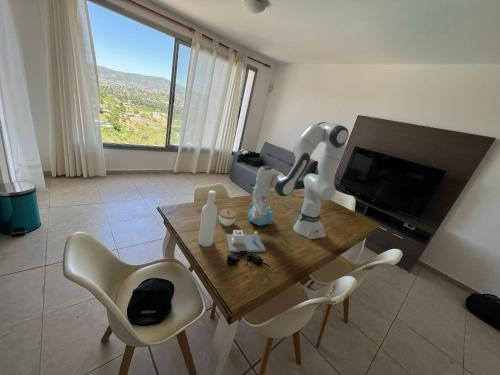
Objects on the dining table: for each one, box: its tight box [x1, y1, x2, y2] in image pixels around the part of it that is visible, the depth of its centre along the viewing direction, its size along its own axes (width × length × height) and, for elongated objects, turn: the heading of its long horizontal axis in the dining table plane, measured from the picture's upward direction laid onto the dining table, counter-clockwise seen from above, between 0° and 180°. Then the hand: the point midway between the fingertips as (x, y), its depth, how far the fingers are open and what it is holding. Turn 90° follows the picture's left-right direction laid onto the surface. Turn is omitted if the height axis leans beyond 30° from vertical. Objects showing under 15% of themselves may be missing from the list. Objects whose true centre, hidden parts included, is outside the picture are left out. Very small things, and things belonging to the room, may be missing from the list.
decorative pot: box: [247, 202, 274, 227], centre depth 139 cm, size 16×16×14 cm
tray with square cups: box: [225, 231, 266, 253], centre depth 114 cm, size 20×14×8 cm
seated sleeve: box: [231, 229, 244, 245], centre depth 113 cm, size 6×6×6 cm
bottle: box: [197, 189, 218, 248], centre depth 105 cm, size 8×8×30 cm
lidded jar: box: [218, 208, 237, 227], centre depth 129 cm, size 11×11×9 cm
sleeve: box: [251, 205, 263, 220], centre depth 123 cm, size 6×6×6 cm
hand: (257, 214), depth 123 cm, fingers closed on sleeve, 5 cm apart
